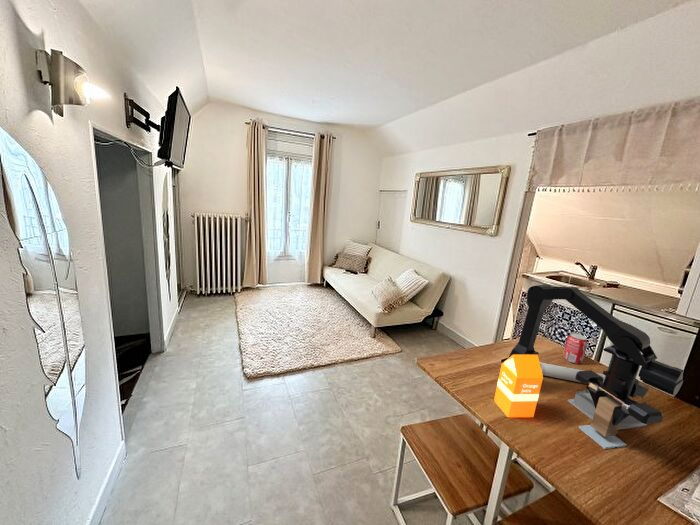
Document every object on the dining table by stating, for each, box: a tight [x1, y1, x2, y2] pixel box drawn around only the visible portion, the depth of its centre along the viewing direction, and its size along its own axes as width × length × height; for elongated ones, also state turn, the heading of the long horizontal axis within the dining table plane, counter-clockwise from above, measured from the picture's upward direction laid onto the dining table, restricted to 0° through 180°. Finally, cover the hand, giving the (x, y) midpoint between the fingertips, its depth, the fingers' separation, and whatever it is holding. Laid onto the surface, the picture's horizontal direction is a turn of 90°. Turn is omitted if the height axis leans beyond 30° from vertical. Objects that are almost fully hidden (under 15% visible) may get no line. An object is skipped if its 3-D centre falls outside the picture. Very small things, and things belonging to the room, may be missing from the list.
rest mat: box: [578, 424, 627, 450], centre depth 82 cm, size 8×8×1 cm
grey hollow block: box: [567, 389, 648, 431], centre depth 92 cm, size 16×13×5 cm
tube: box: [539, 361, 605, 385], centre depth 109 cm, size 5×5×25 cm
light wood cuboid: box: [590, 396, 622, 437], centre depth 81 cm, size 4×4×10 cm
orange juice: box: [493, 354, 544, 418], centre depth 89 cm, size 8×9×20 cm
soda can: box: [562, 332, 588, 365], centre depth 122 cm, size 7×7×12 cm
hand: (606, 419), depth 81 cm, fingers closed on light wood cuboid, 4 cm apart
